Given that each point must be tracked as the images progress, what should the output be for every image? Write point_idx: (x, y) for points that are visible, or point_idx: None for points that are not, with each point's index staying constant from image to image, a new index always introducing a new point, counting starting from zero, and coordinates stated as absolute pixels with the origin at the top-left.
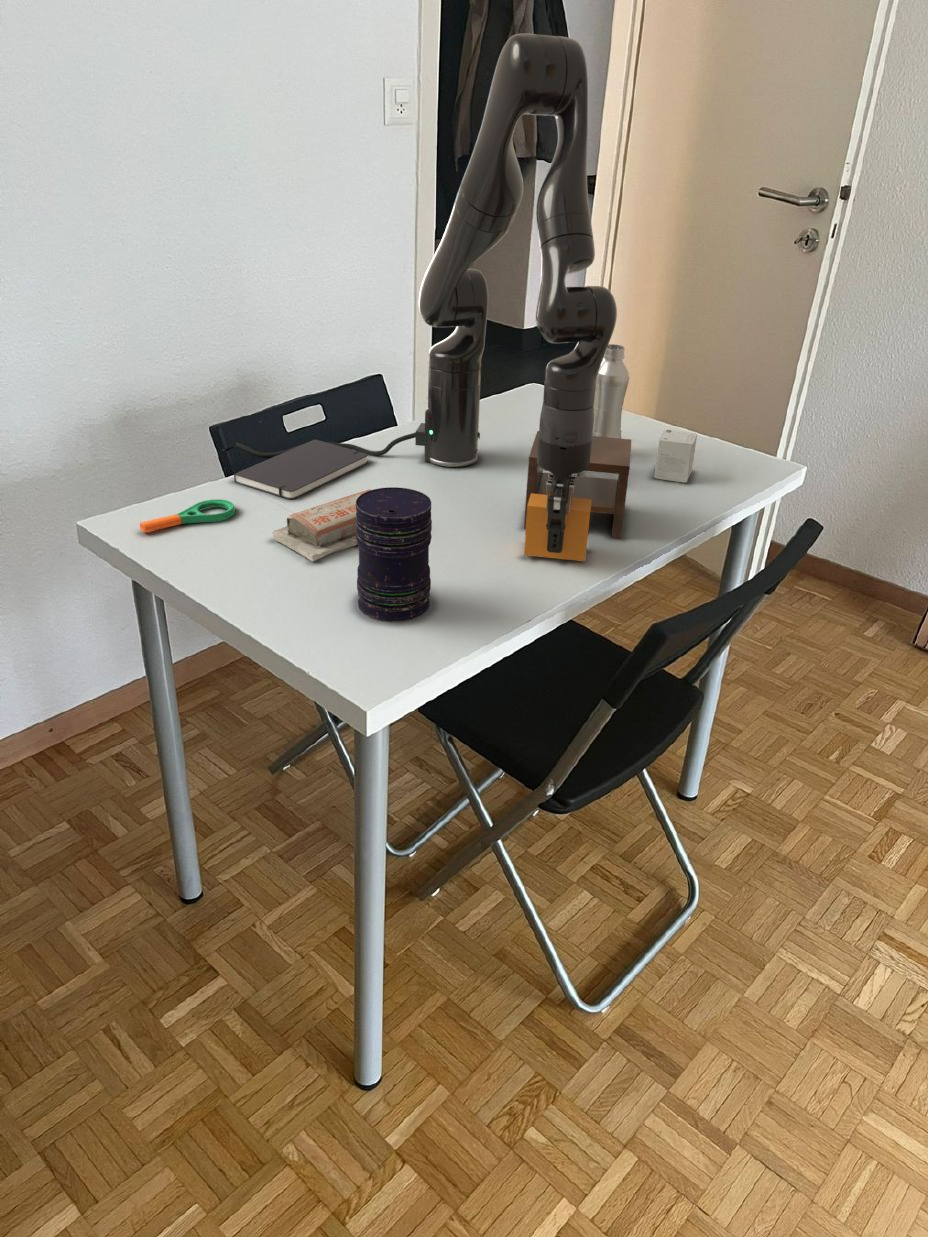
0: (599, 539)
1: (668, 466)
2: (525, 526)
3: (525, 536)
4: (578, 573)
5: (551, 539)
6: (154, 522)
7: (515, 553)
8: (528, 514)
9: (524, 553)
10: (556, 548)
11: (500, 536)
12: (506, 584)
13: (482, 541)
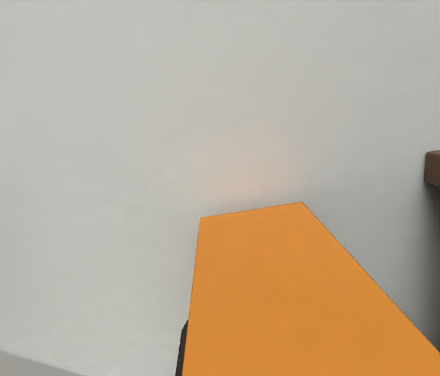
0: None
1: None
2: (433, 159)
3: (196, 254)
4: None
5: (177, 363)
6: None
7: (228, 178)
8: (184, 355)
9: (200, 220)
10: None
11: (344, 88)
12: (12, 211)
13: (281, 31)
